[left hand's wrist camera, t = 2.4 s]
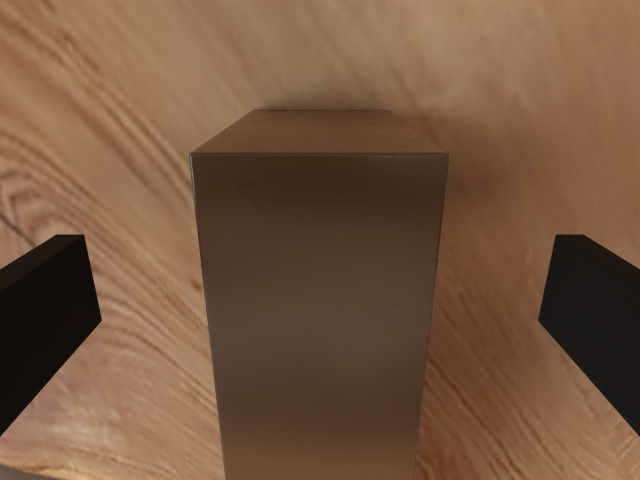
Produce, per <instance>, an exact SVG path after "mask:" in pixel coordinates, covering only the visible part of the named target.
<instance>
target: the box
mask: <svg viewBox="0 0 640 480" xmlns="http://www.w3.org/2000/svg"><path fill="white" fill-rule="evenodd" d="M189 160H190V169H191V178H192V187H193V195H194V204H195V213H196V222H197V231H198V240H199V249H200V258H201V267H202V275H203V284H204V293H205V302H206V311H207V320H208V329H209V338H210V347H211V356H212V364H213V373H214V382H215V391H216V400H217V409H218V418H219V427H220V436H221V444H222V453H223V462H224V471H225V480H413V478H414V469H415V460H416V451H417V442H418V433H419V424H420V415H421V406H422V397H423V388H424V379H425V370H426V361H427V352H428V343H429V334H430V325H431V316H432V307H433V298H434V289H435V280H436V271H437V262H438V253H439V244H440V235H441V226H442V217H443V208H444V199H445V190H446V181H447V172H448V163H449V154H448V153H447V152H446V151H444V150H443V149H441V148H440V147H438V146H437V145H436V144H434V143H433V142H431V141H430V140H429V139H427V138H426V137H424V136H423V135H421V134H420V133H419V132H417V131H416V130H414V129H413V128H412V127H410V126H409V125H407V124H406V123H404V122H403V121H402V120H400V119H399V118H397V117H396V116H395V115H393V114H392V113H390V112H389V111H387V110H253V111H251V112H250V113H248V114H247V115H245V116H244V117H242V118H241V119H239V120H238V121H237V122H235V123H234V124H232V125H231V126H229V127H228V128H226V129H225V130H223V131H222V132H220V133H219V134H218V135H216V136H215V137H213V138H212V139H210V140H209V141H207V142H206V143H204V144H203V145H201V146H200V147H199V148H197V149H196V150H194V151H193V152H191V153H190V155H189Z"/></svg>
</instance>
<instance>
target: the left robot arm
mask: <svg viewBox="0 0 640 480" xmlns="http://www.w3.org/2000/svg"><path fill="white" fill-rule="evenodd" d="M101 321H102V319H101V314H100V309H99V304H98V299H97V295H96V290H95V285H94V280H93V275H92V271H91V266H90V261H89V256H88V251H87V246H86V242H85V237H84V235H55V236H53V237H52V238H50V239H49V240H47V241H45V242H44V243H42V244H41V245H39V246H37V247H36V248H34V249H32V250H31V251H29V252H28V253H26V254H24V255H23V256H21V257H20V258H18V259H16V260H15V261H13V262H11V263H10V264H8V265H7V266H5V267H3V268H2V269H0V436H1V435H2V434H3V433H4V432H5V431H6V429H7V428H8V427H9V426H10V425H11V424H12V423H13V421H14V420H15V419H16V418H17V417H18V416H19V415H20V413H21V412H22V411H23V410H24V409H25V408H26V407H27V405H28V404H29V403H30V402H31V401H32V400H33V399H34V397H35V396H36V395H37V394H38V393H39V392H40V391H41V389H42V388H43V387H44V386H45V385H46V384H47V383H48V381H49V380H50V379H51V378H52V377H53V376H54V375H55V373H56V372H57V371H58V370H59V369H60V368H61V367H62V365H63V364H64V363H65V362H66V361H67V360H68V359H69V357H70V356H71V355H72V354H73V353H74V352H75V351H76V349H77V348H78V347H79V346H80V345H81V344H82V343H83V341H84V340H85V339H86V338H87V337H88V336H89V335H90V333H91V332H92V331H93V330H94V329H95V328H96V327H97V325H98V324H99V323H100V322H101ZM538 321H539V322H540V323H541V324H542V325H543V327H544V328H545V329H546V330H547V331H548V332H549V333H550V335H551V336H552V337H553V338H554V339H555V340H556V341H557V343H558V344H559V345H560V346H561V347H562V348H563V349H564V351H565V352H566V353H567V354H568V355H569V356H570V357H571V359H572V360H573V361H574V362H575V363H576V364H577V365H578V367H579V368H580V369H581V370H582V371H583V372H584V373H585V375H586V376H587V377H588V378H589V379H590V380H591V381H592V383H593V384H594V385H595V386H596V387H597V388H598V389H599V391H600V392H601V393H602V394H603V395H604V396H605V397H606V399H607V400H608V401H609V402H610V403H611V404H612V405H613V407H614V408H615V409H616V410H617V411H618V412H619V413H620V415H621V416H622V417H623V418H624V419H625V420H626V421H627V423H628V424H629V425H630V426H631V427H632V428H633V429H634V431H635V432H636V433H637V434H638V435H639V436H640V269H638V268H637V267H635V266H633V265H632V264H630V263H629V262H627V261H625V260H624V259H622V258H620V257H619V256H617V255H616V254H614V253H612V252H611V251H609V250H608V249H606V248H604V247H603V246H601V245H599V244H598V243H596V242H595V241H593V240H591V239H590V238H588V237H587V236H585V235H556V237H555V242H554V246H553V251H552V256H551V261H550V266H549V271H548V275H547V280H546V285H545V290H544V295H543V299H542V304H541V309H540V314H539V319H538Z"/></svg>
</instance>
